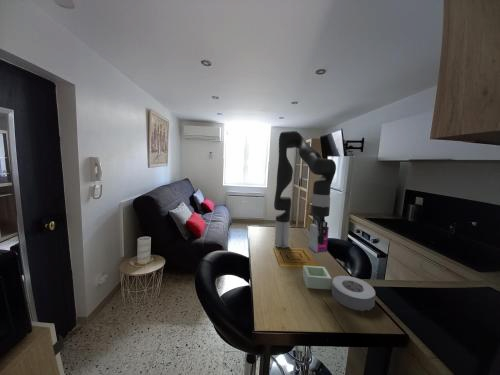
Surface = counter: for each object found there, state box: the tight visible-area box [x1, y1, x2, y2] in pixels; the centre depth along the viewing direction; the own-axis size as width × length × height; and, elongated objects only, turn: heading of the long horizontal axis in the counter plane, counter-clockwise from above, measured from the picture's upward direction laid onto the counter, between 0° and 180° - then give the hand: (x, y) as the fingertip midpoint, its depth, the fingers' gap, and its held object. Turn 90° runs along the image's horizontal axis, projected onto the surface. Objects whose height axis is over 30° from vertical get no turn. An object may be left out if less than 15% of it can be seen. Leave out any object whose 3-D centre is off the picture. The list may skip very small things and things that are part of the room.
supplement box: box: [308, 223, 330, 254], centre depth 86 cm, size 6×6×12 cm
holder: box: [302, 265, 333, 291], centre depth 87 cm, size 10×10×5 cm
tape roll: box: [331, 275, 377, 312], centre depth 77 cm, size 15×15×5 cm
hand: (318, 240), depth 86 cm, fingers closed on supplement box, 7 cm apart
